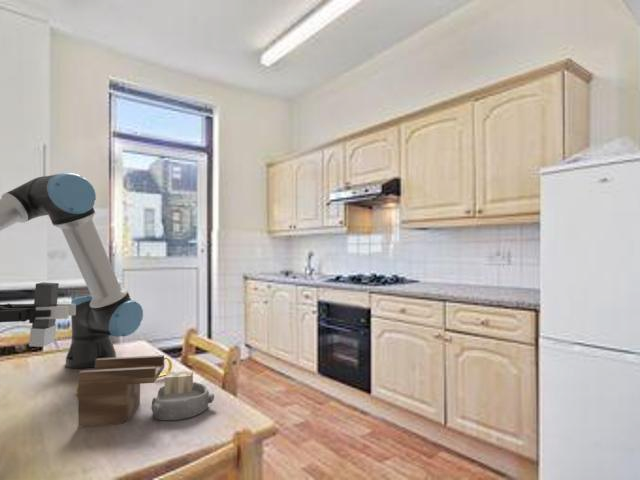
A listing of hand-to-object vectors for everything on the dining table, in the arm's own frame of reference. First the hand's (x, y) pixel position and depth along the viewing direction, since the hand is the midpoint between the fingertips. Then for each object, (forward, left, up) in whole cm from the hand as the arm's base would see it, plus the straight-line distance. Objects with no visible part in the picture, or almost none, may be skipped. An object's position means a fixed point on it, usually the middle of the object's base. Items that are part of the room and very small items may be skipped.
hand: (71, 310), depth 97 cm
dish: (0, +25, -25) cm, 36 cm away
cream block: (0, +21, -18) cm, 28 cm away
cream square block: (0, +24, -18) cm, 30 cm away
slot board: (0, +12, -25) cm, 28 cm away
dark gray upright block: (0, -6, -7) cm, 10 cm away
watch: (-28, +15, -25) cm, 41 cm away
